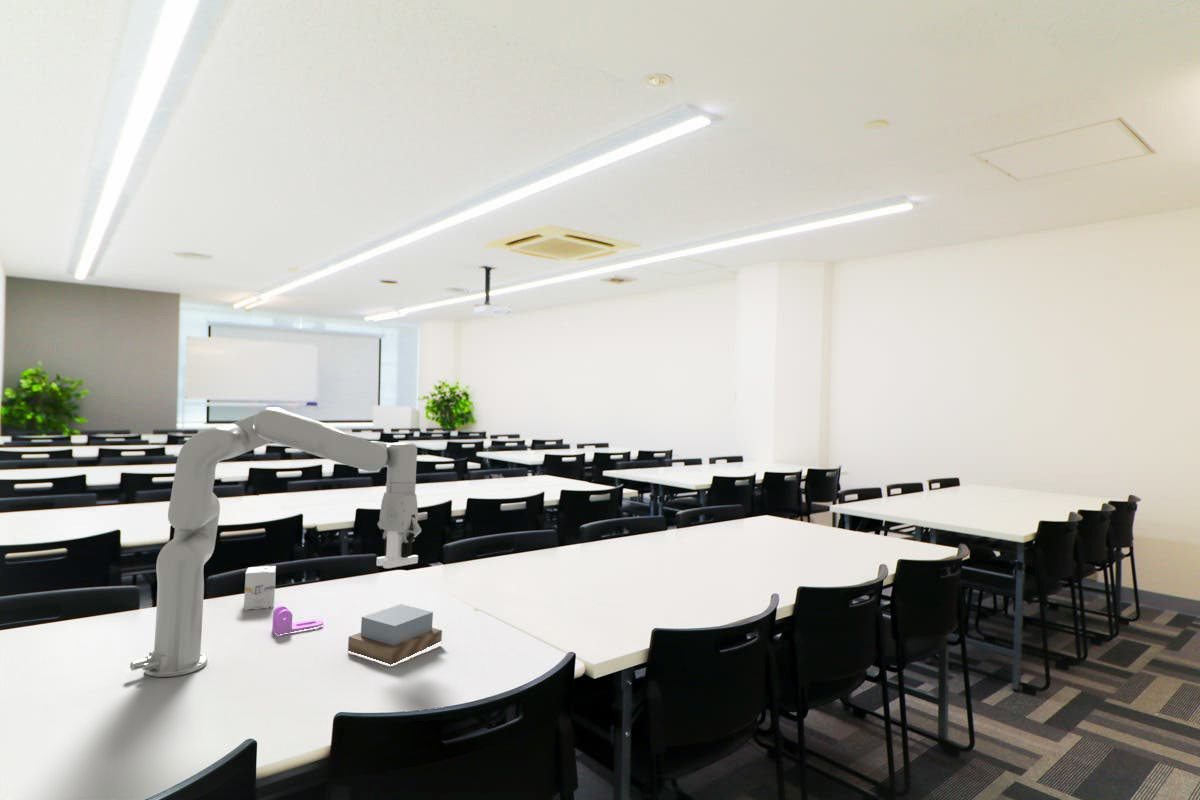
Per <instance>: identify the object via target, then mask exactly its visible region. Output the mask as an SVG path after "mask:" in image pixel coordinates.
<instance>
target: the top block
mask: <svg viewBox="0 0 1200 800" xmlns="http://www.w3.org/2000/svg"><path fill="white" fill-rule="evenodd" d="M433 617H434V612H433V611H429V610H426V609H421V608H417V607H415V606H414V607H413V606H410V605H406V604H398V605H395V606H391V607H389V608H386V609H382V610H379V611H376V612H374V613H370V614H367V615H364V616H361V621H360V622H361V625H360V633H361V636H363V637H366V638H369V639H373V640H376V641H380V642H383V643H386V644H390V645H393V646H394V645H397V644H399V643H402V642H404V641H407V640H409V639H412V638H414V637H417V636H419V635H422V634H424V633H427V632H429V631H432V628H433Z"/></svg>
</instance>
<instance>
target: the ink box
mask: <svg viewBox="0 0 1200 800" xmlns="http://www.w3.org/2000/svg"><path fill="white" fill-rule="evenodd" d="M276 571H277V566H276V565H271V566H270V565H264V566H262V565H261V566H250V567H247V569H246V571H245V575H244V576H245V578H244V580H245V581H244V582H245V583H244V598H243V600H244V601H243V602H244V603H243V611H248V610H249V609H254V610H262V609H261V608H266V609H269V608H268V607H273V608H274V605H275V593H276V573H277V572H276ZM249 611H250V610H249Z"/></svg>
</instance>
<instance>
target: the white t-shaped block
mask: <svg viewBox="0 0 1200 800" xmlns="http://www.w3.org/2000/svg"><path fill="white" fill-rule="evenodd" d="M407 536H409V533H407ZM403 542H404V540H403V535H402V532H395V531H389V530H388V533H387V547H386V554H385V555H383V556H382V555H381V556H377V557H376V563H375V564H376V566H377V567H382V568H384V569H392V568H397V567H403V566H408V565H413V564H414V565H415V564H418V562H419V555H418V554H412V555H411V556H409V557H405V558H402V557H401V552H402V543H403Z"/></svg>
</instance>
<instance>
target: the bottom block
mask: <svg viewBox="0 0 1200 800" xmlns="http://www.w3.org/2000/svg"><path fill="white" fill-rule="evenodd" d="M442 636H443V630H442V629H439V628H435V627H432V631H429V632H427V633H424V634H422V635H419V636H417V637H414V638H412V639H409V640H407V641H404V642H402V643H399V644H397V645H394V646H393V645H390V644H386V643H383V642H380V641H376V640H373V639H369V638H366V637H363V636H361V632H359V633H355V634H352V635H349V636H348V642H347V652H348V651H351V652H354V653H357V654H361V655H364V656H367V657H370V658H373V659H376V660H379V661H382V662H385V663H388V664H390V665H391V664H393V663H396V662H398V661H400V660H402V659H404V658H406V657H409V656H411V655H413V654H415V653H417V652H419V651H422V650H424V649H426V648H427V647H430V646H432V645H434V644H436V643H438V642H440V641H441V642H442V639H443V637H442Z"/></svg>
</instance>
